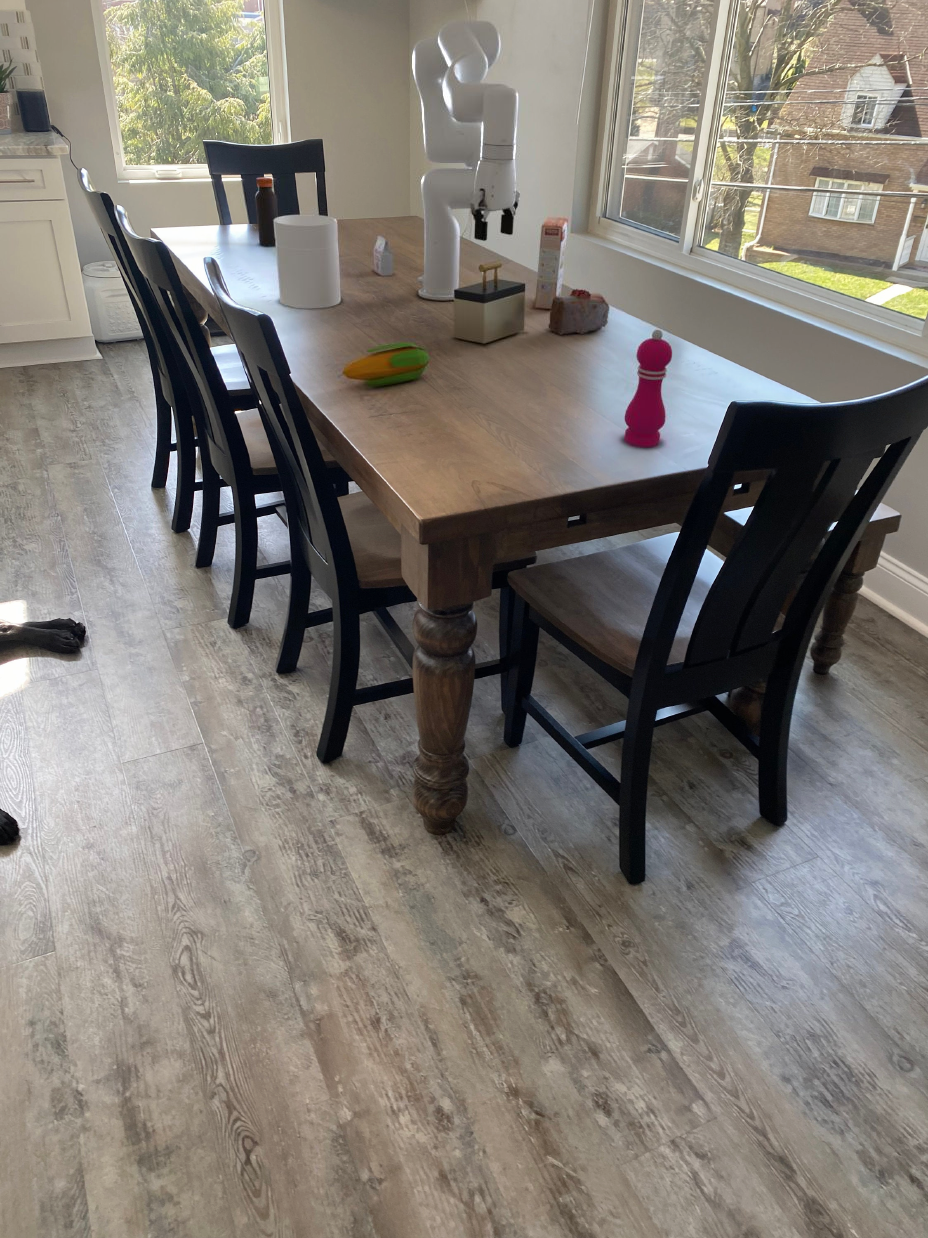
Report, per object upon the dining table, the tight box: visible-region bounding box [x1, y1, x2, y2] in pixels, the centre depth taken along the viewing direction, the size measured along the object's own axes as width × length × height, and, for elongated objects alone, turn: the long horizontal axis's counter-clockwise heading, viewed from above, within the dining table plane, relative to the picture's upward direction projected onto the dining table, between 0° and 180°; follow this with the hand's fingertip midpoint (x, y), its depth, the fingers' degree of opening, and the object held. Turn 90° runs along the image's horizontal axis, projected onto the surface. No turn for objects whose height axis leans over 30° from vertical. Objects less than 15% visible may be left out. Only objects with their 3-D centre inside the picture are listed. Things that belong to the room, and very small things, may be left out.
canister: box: [274, 214, 342, 310], centre depth 232 cm, size 16×16×20 cm
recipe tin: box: [453, 259, 526, 344], centre depth 211 cm, size 16×16×9 cm
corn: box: [341, 341, 430, 387], centre depth 183 cm, size 7×8×20 cm
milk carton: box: [372, 234, 394, 277], centre depth 265 cm, size 4×7×10 cm, turn 24°
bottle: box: [254, 177, 279, 247], centre depth 292 cm, size 7×7×20 cm
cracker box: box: [534, 216, 569, 311], centre depth 237 cm, size 14×6×21 cm, turn 168°
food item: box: [548, 288, 610, 335], centre depth 219 cm, size 14×8×10 cm, turn 118°
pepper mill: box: [624, 329, 673, 448], centre depth 156 cm, size 7×7×20 cm
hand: (493, 236), depth 204 cm, fingers open, 9 cm apart
